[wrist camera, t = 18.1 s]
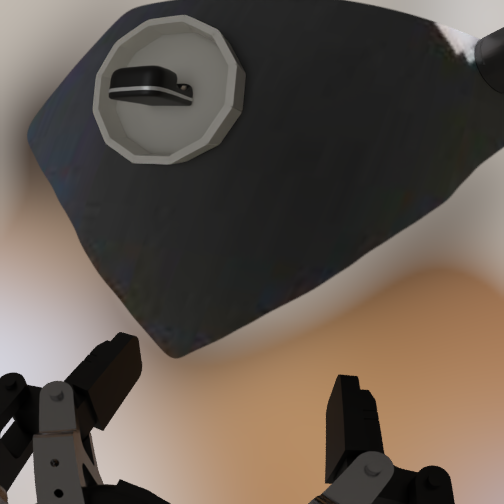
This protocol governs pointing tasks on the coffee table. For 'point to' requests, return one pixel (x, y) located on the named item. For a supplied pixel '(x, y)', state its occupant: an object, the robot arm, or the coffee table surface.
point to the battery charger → (149, 87)
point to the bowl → (188, 72)
